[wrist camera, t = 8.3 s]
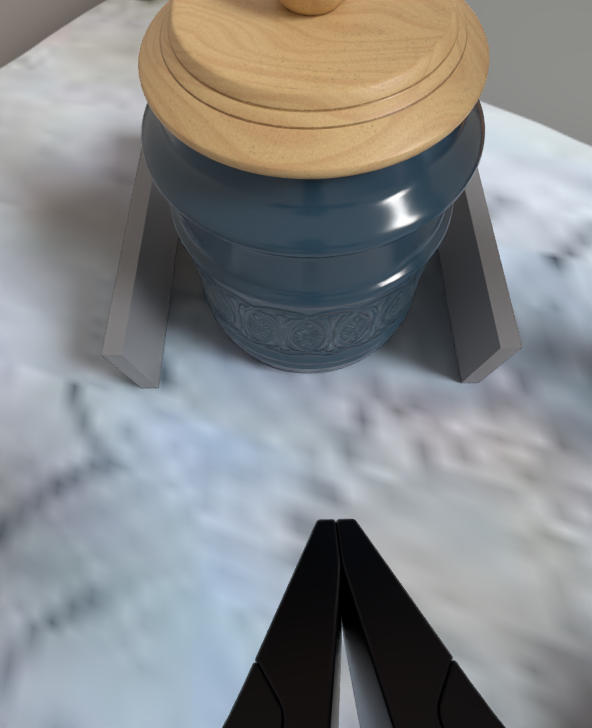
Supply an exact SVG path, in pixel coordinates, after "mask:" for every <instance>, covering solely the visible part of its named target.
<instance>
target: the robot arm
mask: <svg viewBox="0 0 592 728" xmlns="http://www.w3.org/2000/svg"><path fill="white" fill-rule="evenodd" d="M342 630H343V637H344V643H345V649H346V654H347V660H348V665H349V671H350V676H351V681H352V687H353V692H354V698H355V703H356V709H357V714H358V720H359V725H360V728H506V727H505V726H504V725H503V724H502V722H501V721H500V720H499V719H498V717H497V716H496V715H495V714H494V712H493V711H492V710H491V708H490V707H489V706H488V704H487V703H486V702H485V700H484V699H483V698H482V696H481V695H480V694H479V692H478V691H477V690H476V688H475V687H474V686H473V684H472V683H471V682H470V680H469V679H468V677H467V676H466V674H465V673H464V672H463V670H462V669H461V667H460V666H459V665H458V663H457V662H456V661H455V660H454V661H452V660H453V657H452V655H451V654H450V652H449V651H448V649H447V648H446V647H445V645H444V644H443V642H442V641H441V640H440V638H439V637H438V635H437V634H436V633H435V631H434V630H433V628H432V627H431V625H430V624H429V623H428V621H427V620H426V618H425V617H424V616H423V614H422V613H421V611H420V610H419V609H418V607H417V606H416V604H415V603H414V602H413V600H412V599H411V597H410V596H409V594H408V593H407V592H406V590H405V589H404V587H403V586H402V585H401V583H400V582H399V580H398V579H397V578H396V576H395V575H394V573H393V572H392V571H391V569H390V568H389V566H388V565H387V563H386V562H385V561H384V559H383V558H382V556H381V555H380V554H379V552H378V551H377V549H376V548H375V547H374V545H373V544H372V542H371V541H370V540H369V538H368V537H367V535H366V534H365V532H364V531H363V530H362V528H361V527H360V525H359V524H358V523H357V521H356V520H354V519H338V520H337V521H335V520H334V519H320V520H318V521H317V522H316V523H315V526H314V528H313V530H312V532H311V535H310V537H309V539H308V541H307V544H306V546H305V548H304V550H303V553H302V555H301V557H300V559H299V562H298V564H297V566H296V568H295V571H294V573H293V575H292V577H291V580H290V582H289V584H288V586H287V589H286V591H285V593H284V595H283V598H282V600H281V602H280V604H279V607H278V609H277V611H276V613H275V616H274V618H273V620H272V622H271V625H270V627H269V629H268V631H267V634H266V636H265V638H264V640H263V643H262V645H261V647H260V649H259V651H258V654H257V656H256V658H255V662H256V663H253V664H252V667H251V669H250V671H249V673H248V676H247V678H246V680H245V682H244V685H243V687H242V689H241V691H240V693H239V695H238V697H237V699H236V701H235V703H234V705H233V707H232V710H231V712H230V714H229V716H228V718H227V720H226V721H225V723H224V725H223V727H222V728H339V700H340V672H341V645H342Z"/></svg>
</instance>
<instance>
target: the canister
mask: <svg viewBox="0 0 592 728" xmlns="http://www.w3.org/2000/svg"><path fill="white" fill-rule="evenodd" d="M488 68H489V47H488V42H487V38H486V35H485V33H484V30H483V27H482V25H481V23H480V21H479V20H478V18H477V17H476V15H475V14H474V12H473V11H472V10H471V8H470V7H469V6H468V5H467V3H465V1H464V0H169V1H168V2H167V3H166V4H165V5H164V6H163V7H162V9H161V10H160V11H159V12H158V14H157V15H156V16H155V18H154V19H153V21H152V22H151V23H150V25H149V27H148V29H147V31H146V33H145V35H144V38H143V40H142V44H141V47H140V52H139V60H138V69H139V78H140V83H141V87H142V90H143V93H144V96H145V98H146V100H147V105H146V108H145V111H144V115H143V119H142V126H141V143H142V151H143V157H144V160H145V164H146V167H147V169H148V172H149V174H150V176H151V178H152V180H153V181H154V183H155V185H156V187H157V188H158V190H159V191H160V192H161V194H162V195H163V197H164V198H165V199H166V200H167V201H168V202H169V204H170V209H171V215H172V220H173V224H174V227H175V230H176V232H177V234H178V237H179V239H180V241H181V243H182V244H183V246H184V248H185V249H186V251H187V252H188V253H189V255H190V256H191V257H192V260H193V262H194V264H195V266H196V269H197V271H198V273H199V276H200V278H201V280H202V283H203V288H204V292H205V296H206V299H207V302H208V304H209V307H210V309H211V311H212V313H213V315H214V317H215V319H216V321H217V322H218V324H219V325H220V327H221V328H222V330H223V331H224V332H225V333H226V334H227V336H228V337H229V338H230V339H231V340H232V341H233V342H235V343H236V344H237V345H238V346H239V347H240V348H241V349H242V350H244V351H245V352H246V353H248V354H249V355H250V356H252V357H253V358H255V359H257V360H259V361H261V362H263V363H265V364H267V365H269V366H272V367H275V368H278V369H282V370H286V371H291V372H298V373H321V372H328V371H333V370H337V369H341V368H344V367H347V366H350V365H352V364H354V363H356V362H358V361H360V360H362V359H364V358H366V357H367V356H369V355H370V354H371V353H373V352H374V351H375V350H377V349H378V348H379V347H380V346H381V345H382V344H384V343H385V342H386V341H387V340H388V339H389V338H390V337H391V336H392V335H393V334H394V333H395V331H396V330H397V329H398V328H399V326H400V325H401V323H402V322H403V320H404V318H405V316H406V314H407V312H408V310H409V308H410V306H411V304H412V302H413V299H414V296H415V292H416V288H417V284H418V281H419V279H420V277H421V275H422V273H423V271H424V268H425V266H426V264H427V262H428V261H429V260H430V258H431V257H432V256H433V254H434V253H435V252H436V250H437V249H438V247H439V246H440V244H441V242H442V240H443V238H444V236H445V234H446V232H447V229H448V227H449V224H450V220H451V216H452V210H453V203H454V202H455V201H456V200H457V199H458V197H459V196H460V195H461V194H462V192H463V191H464V190H465V188H466V187H467V185H468V184H469V182H470V181H471V179H472V177H473V175H474V173H475V172H476V170H477V167H478V165H479V162H480V159H481V156H482V152H483V147H484V139H485V122H484V115H483V110H482V106H481V103H480V100H479V97H480V95H481V93H482V90H483V88H484V86H485V82H486V79H487V75H488Z"/></svg>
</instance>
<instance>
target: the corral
mask: <svg viewBox="0 0 592 728" xmlns="http://www.w3.org/2000/svg"><path fill="white" fill-rule="evenodd" d="M177 242H178V234H177V232H176V230H175V227H174V224H173V220H172V215H171V209H170V204H169V202H168V201H167V200H166V199H165V198H164V197H163V195H162V194H161V192H160V191H159V190H158V188H157V187H156V185H155V183H154V181H153V180H152V178H151V176H150V174H149V172H148V169H147V167H146V164H145V160H144V157H143V151H142V148H141V154H140V159H139V164H138V169H137V174H136V179H135V184H134V190H133V195H132V200H131V205H130V210H129V215H128V220H127V225H126V231H125V236H124V241H123V246H122V251H121V256H120V261H119V267H118V272H117V277H116V282H115V287H114V292H113V297H112V302H111V308H110V313H109V318H108V323H107V328H106V333H105V338H104V343H103V349H102V354H101V355H102V356H103V357H104V358H105V359H106V360H108V361H109V362H110V363H111V364H113V365H114V366H115V367H116V368H118V369H119V370H120V371H121V372H122V373H124V374H125V375H126V376H127V377H129V378H130V379H131V380H132V381H134V382H135V383H136V384H137V385H138V386H140V387H141V388H159V380H160V373H161V365H162V357H163V350H164V342H165V334H166V327H167V319H168V311H169V304H170V296H171V288H172V281H173V273H174V265H175V258H176V250H177ZM438 253H439V259H440V264H441V270H442V275H443V281H444V287H445V292H446V298H447V304H448V309H449V315H450V320H451V326H452V332H453V337H454V343H455V348H456V354H457V360H458V365H459V371H460V377H461V382H462V383H479V382H480V381H482V380H483V379H484V378H485V377H487V376H488V375H489V374H490V373H492V372H493V371H494V370H495V369H496V368H498V367H499V366H500V365H501V364H503V363H504V362H505V361H506V360H508V359H509V358H510V357H511V356H513V355H514V354H515V353H516V352H518V351H519V350H520V349H521V348H522V344H521V340H520V336H519V332H518V328H517V324H516V320H515V316H514V312H513V308H512V304H511V300H510V296H509V292H508V288H507V284H506V280H505V276H504V272H503V268H502V264H501V260H500V256H499V252H498V248H497V244H496V240H495V236H494V232H493V228H492V224H491V220H490V216H489V212H488V208H487V204H486V200H485V196H484V192H483V188H482V184H481V180H480V176H479V172H478V168H477V170H476V172H475V173H474V175H473V177H472V179H471V181H470V182H469V184H468V185H467V187H466V188H465V190H464V191H463V192H462V194H461V195H460V196H459V197H458V199H457V200H456V201H455V202H454V203H453V210H452V216H451V220H450V224H449V227H448V229H447V232H446V234H445V236H444V238H443V240H442V242H441V244H440V246H439V247H438Z"/></svg>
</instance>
